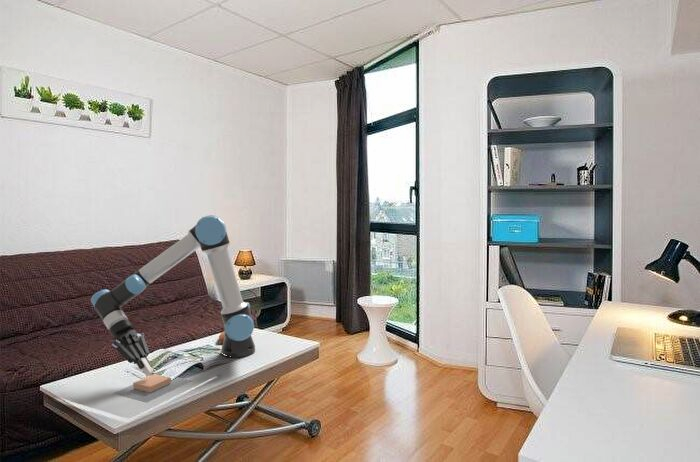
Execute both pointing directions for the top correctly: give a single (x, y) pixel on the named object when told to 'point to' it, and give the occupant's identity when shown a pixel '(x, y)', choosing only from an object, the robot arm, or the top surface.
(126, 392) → the board
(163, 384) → the tile
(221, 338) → the ceramic shard
